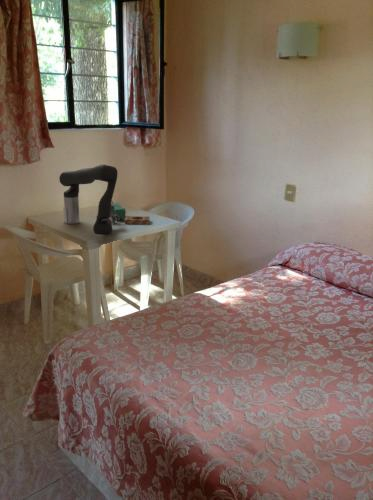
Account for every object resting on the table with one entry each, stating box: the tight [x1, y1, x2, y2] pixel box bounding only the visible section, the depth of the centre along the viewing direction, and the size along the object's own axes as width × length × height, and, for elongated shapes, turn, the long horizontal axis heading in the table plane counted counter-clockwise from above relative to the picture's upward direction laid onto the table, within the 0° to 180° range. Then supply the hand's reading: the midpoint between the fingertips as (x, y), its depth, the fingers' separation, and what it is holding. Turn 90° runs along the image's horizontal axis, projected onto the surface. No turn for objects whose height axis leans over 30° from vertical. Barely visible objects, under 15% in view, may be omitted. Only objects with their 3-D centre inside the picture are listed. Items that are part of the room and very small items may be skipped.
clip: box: [110, 203, 116, 225], centre depth 285 cm, size 4×4×12 cm
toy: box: [111, 200, 127, 219], centre depth 303 cm, size 12×10×30 cm
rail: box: [124, 215, 151, 225], centre depth 289 cm, size 16×10×3 cm, turn 93°
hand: (109, 215), depth 277 cm, fingers open, 8 cm apart
